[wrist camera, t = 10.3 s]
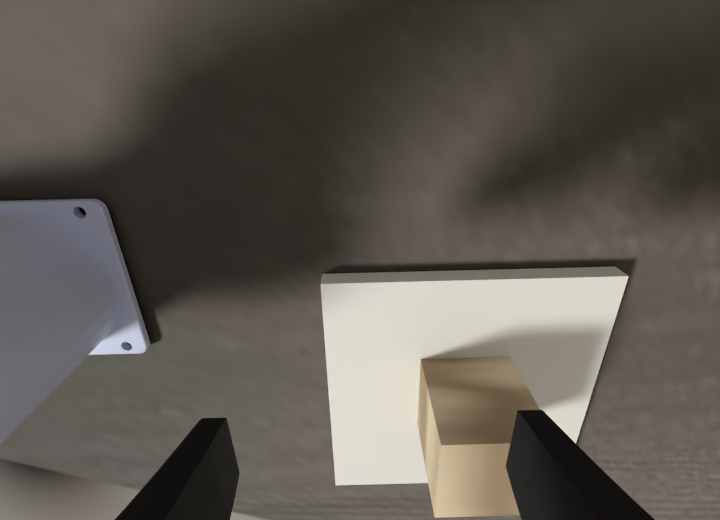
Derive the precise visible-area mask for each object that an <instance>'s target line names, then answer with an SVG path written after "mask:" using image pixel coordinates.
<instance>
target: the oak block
mask: <svg viewBox="0 0 720 520" xmlns="http://www.w3.org/2000/svg"><path fill="white" fill-rule="evenodd" d="M517 410H540V408H539V407H538V405H537V403H536V401H535V400H534V398H533V396H532V394H531V393H530V391H529V389H528V387H527V385H526V384H525V382H524V380H523V378H522V377H521V375H520V373H519V371H518V370H517V368H516V366H515V364H514V363H513V361H512V359H511V357H510V356H506V357H473V358H441V359H421V362H420V382H419V402H418V422H417V424H418V429H419V435H420V440H421V446H422V451H423V457H424V462H425V468H426V473H427V479H428V484H429V489H430V495H431V500H432V506H433V511H434V517H435V518H436V517H469V516H503V515H520V513H519V510H518V507H517V504H516V501H515V497H514V494H513V491H512V487H511V484H510V480H509V476H508V473H507V469H506V462H507V457H508V453H509V448H510V443H511V438H512V434H513V429H514V424H515V419H516V415H517Z"/></svg>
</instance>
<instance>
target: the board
mask: <svg viewBox="0 0 720 520" xmlns="http://www.w3.org/2000/svg"><path fill="white" fill-rule="evenodd" d="M628 277H629V276H628V275H626V274H625V273H624V272H622V271H621V270H619V269H618V268H617V267H576V268H536V269H496V270H456V271H416V272H376V273H336V274H322V278H321V297H322V310H323V323H324V337H325V350H326V363H327V376H328V390H329V403H330V416H331V429H332V443H333V456H334V469H335V482H336V485H365V484H404V483H428V479H427V473H426V468H425V462H424V457H423V451H422V446H421V440H420V435H419V429H418V424H417V422H418V402H419V382H420V362H421V359H441V358H473V357H506V356H510V357H511V359H512V361H513V363H514V364H515V366H516V368H517V370H518V371H519V373H520V375H521V377H522V378H523V380H524V382H525V384H526V385H527V387H528V389H529V391H530V393H531V394H532V396H533V398H534V400H535V401H536V403H537V405H538V407H539V408H540V410H543V411H544V412H545V413H546V414H547V415H548V416H549V417H550V418H551V419H552V420H553V421H554V422H555V423H556V424H557V425H558V426H559V427H560V428H561V429H562V430H563V431H564V432H565V433H566V434H567V435H568V436H569V437H570V438H571V439H572V440H573V441H574V442H575V443H576V442H577V439H578V436H579V433H580V429H581V426H582V423H583V420H584V417H585V414H586V410H587V407H588V404H589V401H590V398H591V395H592V391H593V388H594V385H595V382H596V379H597V376H598V372H599V369H600V366H601V363H602V360H603V357H604V353H605V350H606V347H607V344H608V341H609V338H610V334H611V331H612V328H613V325H614V322H615V319H616V315H617V312H618V309H619V306H620V303H621V300H622V296H623V293H624V290H625V287H626V284H627V281H628Z"/></svg>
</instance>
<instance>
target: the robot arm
mask: <svg viewBox="0 0 720 520" xmlns="http://www.w3.org/2000/svg"><path fill="white" fill-rule="evenodd" d="M79 207H81V208H83V209H84V210H85V212H86V215H84V214H82V213H81V212H80V210H79ZM126 342H128V343H130V344H131V345H128V344H127V343H126ZM149 346H150V340H149V337H148V334H147V331H146V328H145V324H144V321H143V318H142V315H141V312H140V309H139V306H138V302H137V299H136V296H135V293H134V290H133V287H132V283H131V280H130V277H129V274H128V271H127V268H126V265H125V261H124V258H123V255H122V252H121V249H120V246H119V242H118V239H117V236H116V233H115V230H114V227H113V224H112V220H111V217H110V214H109V211H108V209H107V207H106V205H105V204H104V203H103V202H102V201H100V200H98V199H56V200H16V201H0V444H1V443H2V442H3V441H4V440H5V439H6V438H7V437H8V436H9V435H10V434H11V433H12V432H13V431H14V430H15V429H16V428H17V427H18V426H19V425H20V424H21V423H22V422H23V421H24V420H25V419H26V418H27V417H28V416H29V415H30V414H31V413H32V412H33V411H34V410H35V409H36V408H37V407H38V406H39V404H40V403H41V402H42V401H43V400H44V399H45V398H46V397H47V396H48V395H49V394H50V393H51V392H52V391H53V390H54V389H55V388H56V387H57V386H58V385H59V384H60V383H61V382H62V381H63V380H64V379H65V378H66V377H67V376H68V375H69V374H70V373H71V372H72V371H73V370H74V369H75V368H76V367H77V366H78V365H79V364H80V363H81V362H82V361H83V360H84V359H85V358H86V357H87V356H88V355H97V354H137V353H144V352H145V351H146V350H147V349H148V348H149ZM506 469H507V473H508V476H509V480H510V484H511V487H512V491H513V494H514V497H515V501H516V504H517V507H518V510H519V513H520V516H521V518H522V520H654V519H653V518H652V517H651V516H650V515H649V514H648V513H647V512H646V511H645V510H644V509H643V508H641V507H640V506H639V505H638V504H637V503H636V502H635V501H634V500H633V499H632V498H631V497H630V496H629V495H628V494H627V493H626V492H625V491H623V490H622V489H621V488H620V487H619V486H618V485H617V484H616V483H615V482H614V481H613V480H612V479H611V478H610V477H609V476H608V475H607V474H606V473H605V472H604V471H603V470H602V469H601V468H600V467H599V466H598V465H597V464H596V463H595V462H594V461H593V460H592V459H591V458H590V457H589V456H588V455H587V454H586V453H585V452H584V451H583V450H582V449H581V448H580V447H579V446H578V445H577V444H576V443H575V442H574V441H573V440H572V439H571V438H570V437H569V436H568V435H567V434H566V433H565V432H564V431H563V430H562V429H561V428H560V427H559V426H558V425H557V424H556V423H555V422H554V421H553V420H552V419H551V418H550V417H549V416H548V415H547V414H546V413H545V412H544V411H543V410H517V415H516V419H515V424H514V429H513V434H512V438H511V443H510V448H509V453H508V457H507V462H506ZM238 478H239V469H238V465H237V460H236V456H235V452H234V448H233V444H232V439H231V435H230V431H229V427H228V422H227V418H202V419H201V420H200V421H199V422H198V423H197V424H196V425H195V426H194V428H193V429H192V430H191V431H190V433H189V434H188V435H187V436H186V437H185V439H184V440H183V441H182V442H181V443H180V445H179V446H178V447H177V448H176V450H175V451H174V452H173V453H172V454H171V456H170V457H169V458H168V459H167V460H166V462H165V463H164V464H163V465H162V466H161V467H160V469H159V470H158V471H157V472H156V473H155V475H154V476H153V477H152V478H151V479H150V480H149V482H148V483H147V484H146V485H145V486H144V487H143V488H142V490H141V491H140V492H139V493H138V494H137V495H136V496H135V498H134V499H133V500H132V501H131V502H130V503H129V505H128V506H127V507H126V508H125V509H124V510H123V511H122V512H121V513H120V515H119V516H118V517H117V518H116V519H115V520H230V516H231V512H232V507H233V503H234V498H235V493H236V488H237V483H238Z"/></svg>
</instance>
